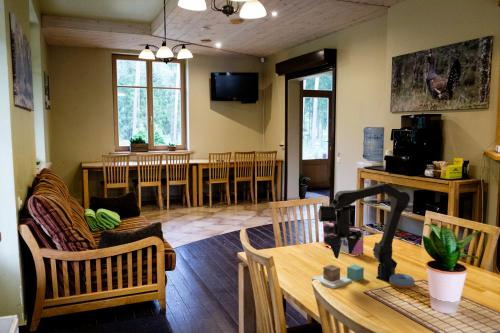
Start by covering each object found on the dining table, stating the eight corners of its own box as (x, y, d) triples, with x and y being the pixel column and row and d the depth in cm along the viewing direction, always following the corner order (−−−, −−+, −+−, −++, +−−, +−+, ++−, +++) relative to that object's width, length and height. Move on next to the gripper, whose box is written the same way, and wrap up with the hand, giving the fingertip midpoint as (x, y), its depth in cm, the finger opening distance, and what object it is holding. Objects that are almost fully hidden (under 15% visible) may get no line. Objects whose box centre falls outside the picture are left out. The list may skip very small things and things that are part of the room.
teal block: (363, 278, 176) (363, 267, 175) (356, 281, 172) (356, 269, 172) (354, 275, 179) (354, 264, 179) (347, 277, 176) (347, 266, 176)
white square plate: (351, 281, 171) (351, 279, 171) (333, 288, 164) (333, 286, 164) (330, 274, 181) (330, 271, 181) (311, 280, 174) (311, 278, 173)
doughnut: (391, 288, 163) (392, 277, 163) (386, 280, 173) (387, 270, 173) (416, 292, 162) (418, 280, 162) (410, 284, 172) (411, 273, 172)
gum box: (321, 245, 227) (322, 222, 225) (332, 243, 231) (332, 220, 230) (353, 256, 206) (353, 230, 205) (363, 254, 210) (364, 228, 209)
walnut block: (340, 279, 172) (340, 267, 172) (332, 281, 169) (332, 270, 168) (331, 275, 176) (331, 264, 175) (323, 278, 173) (323, 267, 172)
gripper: (342, 214, 184) (342, 247, 185) (314, 221, 172) (314, 256, 174) (362, 218, 175) (362, 253, 176) (334, 225, 164) (334, 262, 165)
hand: (343, 256), depth 173 cm, fingers open, 9 cm apart
